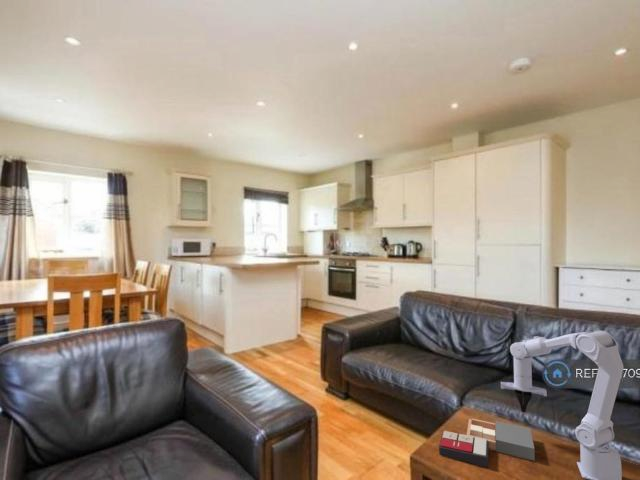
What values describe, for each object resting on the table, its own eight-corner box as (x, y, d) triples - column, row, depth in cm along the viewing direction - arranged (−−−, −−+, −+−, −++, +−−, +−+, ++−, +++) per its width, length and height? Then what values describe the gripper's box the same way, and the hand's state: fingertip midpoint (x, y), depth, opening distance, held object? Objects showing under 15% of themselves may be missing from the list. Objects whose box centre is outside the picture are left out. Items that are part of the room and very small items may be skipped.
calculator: (442, 429, 122) (488, 437, 115) (443, 441, 122) (488, 450, 115) (438, 444, 113) (487, 455, 106) (439, 457, 112) (488, 469, 105)
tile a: (495, 437, 122) (494, 430, 122) (495, 442, 118) (495, 435, 118) (482, 434, 124) (482, 427, 124) (483, 440, 120) (482, 433, 120)
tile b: (471, 424, 126) (471, 430, 126) (470, 429, 122) (470, 436, 122) (482, 426, 124) (482, 433, 124) (482, 432, 121) (482, 439, 121)
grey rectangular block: (530, 439, 121) (530, 428, 122) (534, 461, 109) (534, 448, 109) (495, 431, 127) (495, 420, 127) (496, 451, 114) (495, 439, 114)
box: (495, 431, 127) (495, 423, 127) (495, 451, 114) (495, 442, 114) (469, 425, 131) (469, 417, 131) (466, 444, 119) (466, 435, 119)
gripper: (544, 374, 124) (545, 410, 124) (500, 367, 131) (501, 402, 130) (547, 380, 118) (547, 419, 117) (500, 373, 124) (501, 410, 124)
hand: (523, 411), depth 123 cm, fingers closed
